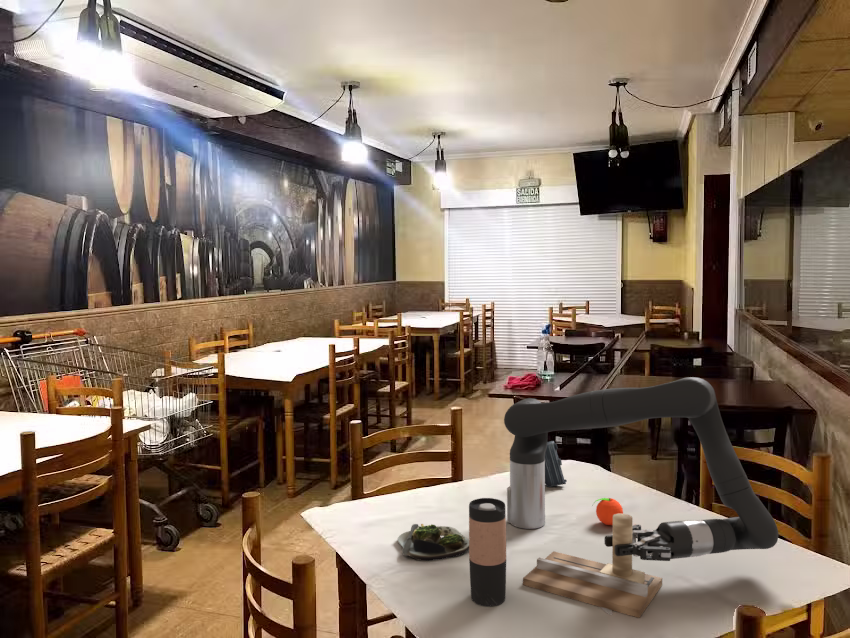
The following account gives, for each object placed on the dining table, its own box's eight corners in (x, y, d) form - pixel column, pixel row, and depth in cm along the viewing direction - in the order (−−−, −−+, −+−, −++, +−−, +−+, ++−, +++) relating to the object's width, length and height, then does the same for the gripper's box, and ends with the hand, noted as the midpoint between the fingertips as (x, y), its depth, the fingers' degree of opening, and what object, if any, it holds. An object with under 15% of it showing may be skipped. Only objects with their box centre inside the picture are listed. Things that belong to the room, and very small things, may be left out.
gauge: (599, 580, 140) (599, 516, 139) (608, 570, 145) (609, 508, 144) (637, 591, 135) (637, 524, 134) (645, 580, 140) (646, 516, 139)
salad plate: (384, 535, 171) (384, 518, 170) (448, 525, 177) (448, 508, 176) (407, 567, 152) (406, 547, 152) (478, 554, 158) (477, 536, 158)
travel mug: (467, 590, 140) (465, 498, 139) (502, 588, 141) (501, 496, 139) (472, 608, 133) (471, 511, 131) (510, 606, 133) (509, 509, 132)
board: (522, 584, 142) (522, 569, 142) (553, 557, 155) (553, 543, 155) (639, 618, 128) (639, 600, 128) (662, 584, 141) (662, 569, 141)
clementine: (590, 527, 173) (590, 500, 172) (593, 517, 179) (593, 492, 179) (621, 531, 170) (621, 504, 169) (624, 521, 176) (624, 495, 176)
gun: (507, 438, 210) (552, 429, 206) (521, 489, 210) (567, 481, 206) (505, 440, 208) (551, 431, 203) (519, 492, 208) (566, 483, 203)
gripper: (667, 509, 148) (595, 516, 145) (704, 534, 134) (626, 542, 131) (666, 542, 149) (595, 549, 146) (704, 570, 135) (626, 578, 132)
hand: (610, 545), depth 139 cm, fingers open, 4 cm apart
